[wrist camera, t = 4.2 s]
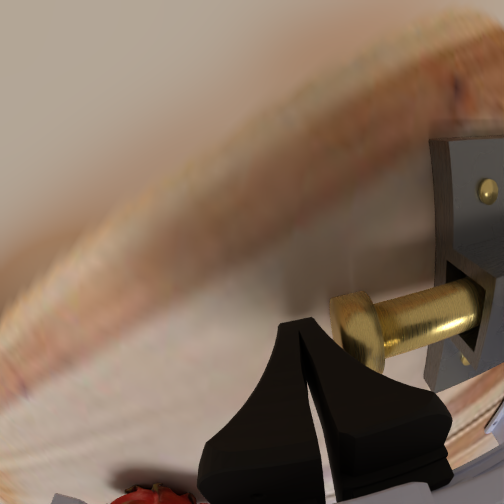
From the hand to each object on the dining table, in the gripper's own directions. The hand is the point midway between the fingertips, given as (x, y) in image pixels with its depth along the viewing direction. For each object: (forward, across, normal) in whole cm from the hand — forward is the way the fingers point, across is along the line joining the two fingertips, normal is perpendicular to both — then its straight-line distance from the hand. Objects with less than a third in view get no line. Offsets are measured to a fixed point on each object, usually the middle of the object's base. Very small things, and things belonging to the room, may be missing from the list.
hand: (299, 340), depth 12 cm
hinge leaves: (+2, -12, 0) cm, 12 cm away
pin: (+1, -7, 0) cm, 7 cm away
